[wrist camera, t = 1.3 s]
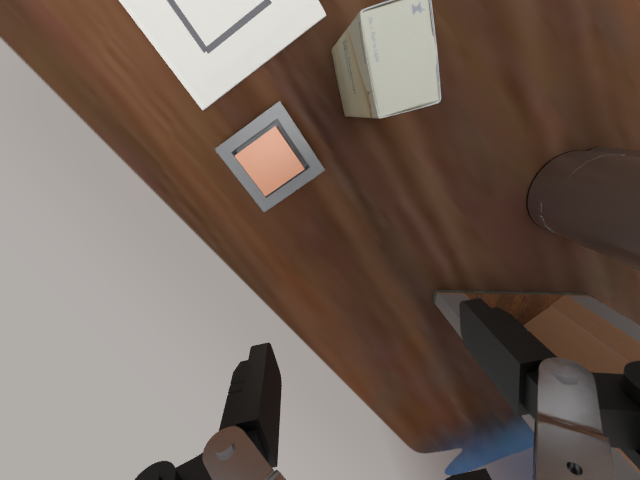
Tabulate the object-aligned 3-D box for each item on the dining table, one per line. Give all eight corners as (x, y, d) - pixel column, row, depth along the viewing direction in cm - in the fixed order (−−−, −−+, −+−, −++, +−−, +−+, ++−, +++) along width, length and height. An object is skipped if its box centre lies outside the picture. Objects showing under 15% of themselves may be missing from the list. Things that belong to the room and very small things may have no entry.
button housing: (281, 102, 30) (279, 100, 26) (321, 164, 33) (325, 170, 29) (223, 145, 31) (214, 149, 27) (267, 202, 33) (263, 212, 30)
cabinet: (585, 292, 42) (1075, 584, 16) (560, 351, 45) (927, 670, 19) (435, 289, 39) (713, 623, 13) (420, 351, 43) (620, 712, 17)
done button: (276, 125, 28) (275, 125, 25) (303, 165, 29) (304, 169, 27) (239, 152, 28) (234, 155, 26) (267, 190, 30) (265, 196, 27)
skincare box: (329, 49, 29) (354, 4, 18) (376, 35, 29) (431, -18, 17) (345, 119, 31) (375, 120, 20) (388, 107, 31) (443, 101, 20)
